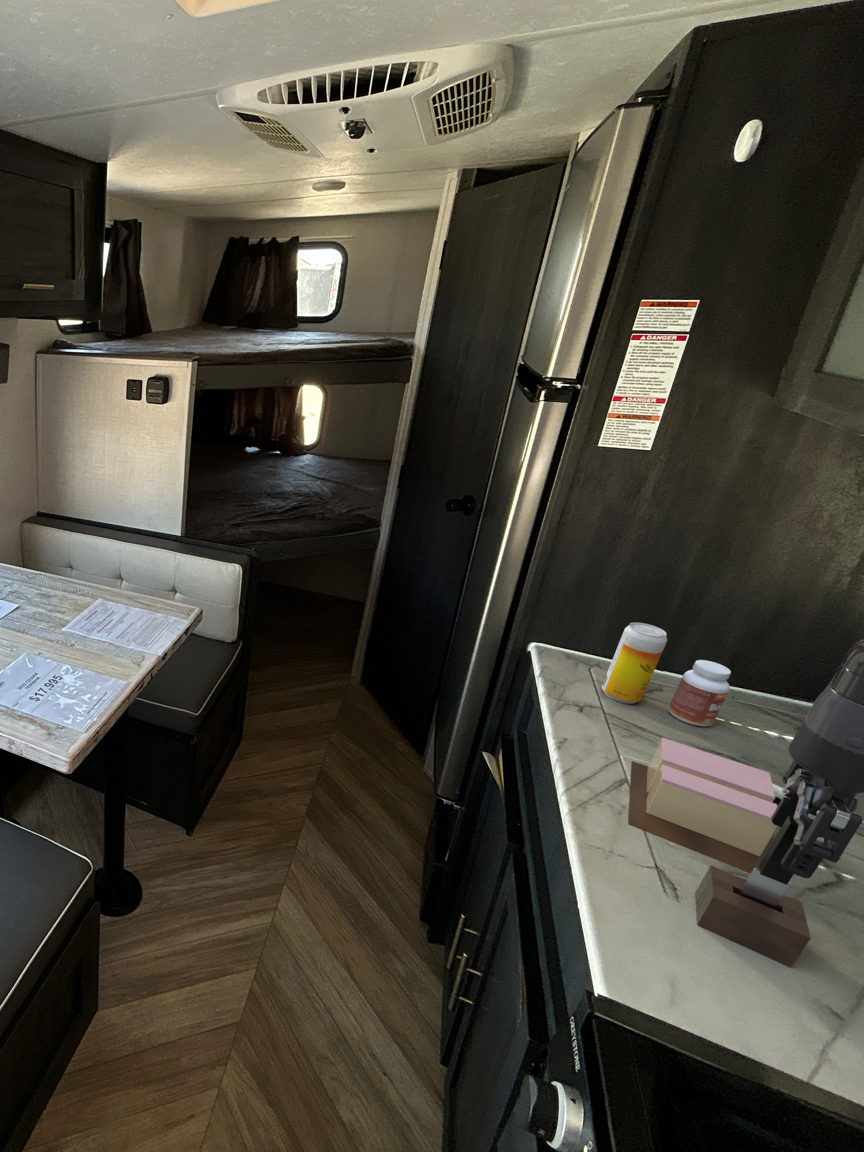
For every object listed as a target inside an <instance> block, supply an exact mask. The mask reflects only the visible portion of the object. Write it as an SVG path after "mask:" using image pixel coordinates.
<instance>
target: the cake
mask: <svg viewBox="0 0 864 1152" xmlns="http://www.w3.org/2000/svg"><path fill="white" fill-rule="evenodd" d="M662 765H665V766H668V767H671V768H674V769H677V770H680V771H683V772H685V773H688V774H691V775H694V776H697V777H700V778H703V779H706V780H708V781H711V782H714V783H717V784H720V785H723V786H726V787H729V788H732V789H734V790H737V791H740V792H743V793H746V794H749V795H752V796H755V797H757V798H760V799H763V800H766V801H769V802H772V803H774V801H775V799H776V794H775V789H774V785H773V782H772V781H773V780H772V776H771V773H770V772H769V771H765V770H762V769H759V768H757V767H753V766H750V765H747V764H744V763H742V762H738V761H736V760H732V759H729V758H727V757H723V756H720V755H716V754H713V753H711V752H707V751H705V750H702V749H699V748H696V747H692V746H689V745H687V744H683V743H680V742H677V741H675V740H672V739H668V738H665V737H661V739H660V741H659V743H658V745H657V748H656V750H655V752H654V753H653V756H652V759H651V761H650V763H649V765H648V769H647V792H648V793H649V792H650V790H651V788H652V786H653V783H654V781H655V779H656V777H657V775H658V773H659V771H660V768H661V766H662Z"/></svg>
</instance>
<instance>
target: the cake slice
mask: <svg viewBox="0 0 864 1152" xmlns="http://www.w3.org/2000/svg"><path fill="white" fill-rule="evenodd" d="M777 807H778V804H777V803H774V802H773V803H772V802H769V801H766V800H763V799H760V798H757V797H755V796H752V795H749V794H746V793H743V792H740V791H737V790H734V789H732V788H729V787H726V786H723V785H720V784H717V783H714V782H711V781H708V780H706V779H703V778H700V777H697V776H694V775H691V774H688V773H685V772H683V771H680V770H677V769H674V768H671V767H668V766H665V765H662V766H661V768H660V771H659V773H658V775H657V777H656V779H655V781H654V783H653V786H652V788H651V790H650V792H649V794H648V796H647V806H646V813H648V814H651V815H653V816H656V817H659V818H661V819H664V820H666V821H669V822H672V823H674V824H677V825H679V826H682V827H685V828H687V829H690V830H692V831H695V832H697V833H700V834H703V835H705V836H708V837H710V838H713V839H716V840H718V841H721V842H723V843H726V844H728V845H731V846H734V847H736V848H739V849H741V850H744V851H747V852H749V853H752V854H754V855H757V856H760V855H761V854H762V852H763V850H764V849H765V847H766V845H767V844H768V842H769V840H770V839H771V837H772V835H773V833H774V834H775V832H776V830H777V829H778V827H779V826H776V825H774V824H773V823H772V820H771V817H772V815H773V813H774V812H775V810H776V808H777Z"/></svg>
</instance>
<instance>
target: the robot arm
mask: <svg viewBox="0 0 864 1152" xmlns="http://www.w3.org/2000/svg"><path fill="white" fill-rule="evenodd" d="M787 750H788V754H789V756H790V757H791V759H792V760H793V761H792V763H791V764H790V766H789V767H788V769H787V771H786V772H785V774H784V775H783V776H782V777H781V780H782V783H783V784H784V785H785V786H784V787H783V788H782V789H781V792H782V798H781V800H780V801H779V803H778V804H777V808H776V810H775V812H774V813H773V815H772V817H771V820H772V823H773V824H774V825H776V826H778V827H780V828H781V827H782V826H783V824H784V822H785V821H786V819H787V817H788V816H792V817H794V820H795V821H796V822H797V823H798V824H799V826H798V830H797V833H796V836H795V837H794V841H793V843H792V845H791V846H790V848H789V849H788V851H787V853H786V854H785V856H784V857H783V859H782V861H781V865H782V868H783V869H784V870H785V871H788V872H790V873H793V874H794V875H796V876H798V877H801V878H804V879H810V878H812V877H813V875H814V873H815V872H816V870H817V869H818V867H819V866H820V864H821V862H822V861H823V859H824V860H826V861H829V862H831V863H833V864H837V863H838V862H839V861H840V858H841V856H842V855H843V853H844V852H845V850H846V849H847V847H848V845H849V844H850V843H851V841H852V839H853V837H854V835H855V834H856V832H857V831H858V829H859V828H860V826H861V825H862V824H863V816H862V815H861V814H857V813H855V812H856V811H857V808H858V804H859V798H858V797H857V796H856V795H858V794H861V793H864V638H863V639H860V640H858V641H857V642H855V643H854V644H853V645H852V646H851V647H850V648H849V649H848V651H847V652H846V654H845V655H844V657H843V658H842V660H841V662H840V664H839V665H838V667H837V668H836V671H835V672H834V674H833V675H832V677H831V679H830V680H829V682H828V684H827V685H826V686H825V688H824V689H823V690H822V691H821V692H820V694H818V696H817V697H816V699H815V700H814V702H813V704H812V705H811V707H810V709H809V711H808V712H807V714H806V715H805V718H803V721H802V722H801V724H800V726H799V728H798V730H797V731H796V733H795V735H794V737H793V739H792V740H791V741H790V744H789V746H788V749H787ZM809 815H811V816H813V817H814V819H813V818H811V817H810V816H809ZM818 838H822V839H823V841H821V840H817V839H818Z"/></svg>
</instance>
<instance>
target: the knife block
mask: <svg viewBox="0 0 864 1152" xmlns="http://www.w3.org/2000/svg"><path fill="white" fill-rule="evenodd" d="M746 881H747V879H746V878H743V877H741V876H738V875H736V874H733V873H731V872H728V871H726V870H724V869H722V868H720V867H719V868H718V867H716V866H714V865H709V867H708V869H707V871H706V873H705V874H704V876H703V878H702V880H701V882H700V883H699V885H698V887H697V889H696V891H695V893H694V898H695V900H694V901H695V911H696V912H695V913H696V914H695V915H696V916H695V917H696V926H698V927H699V928H701V929H704V930H707V931H708V932H711V933H713V934H715V935H716V936H720V937H721V938H723V939H726V940H728V941H730V942H733V943H734V944H737V945H739V946H741V947H743V948H746V949H748V950H750V951H752V952H755V953H757V954H759V955H762V956H763V957H766V958H767V959H770V960H773V961H774V962H777V963H779V964H781V965H783V966H785V967H787V968H790V969H791V968H792V967H793V965H794V964H795V963H796V961H797V959H798V958H799V957H800V956H801V953H802V952H803V951H804V949H805V948H806V946H807V945H808V943H809V942H810V941H811V939H812V936H811V932H810V928H809V924H808V920H807V916H806V912H805V907H804V903H803V902H802V901H800V900H797V899H795V898H792V897H790V896H788V895H785V894H784V896H783V897H782V899H781V901H780V902H779V904H778V905H777V907H776V909H775V910H774V909H771V908H769V907H767V906H764V905H762V904H759V903H757V902H755V901H752V900H750V899H748V898H745V897H743V896H740V895H738V894H739V892H740V891H741V889H742V887H743V886H744V884H745V882H746Z"/></svg>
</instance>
